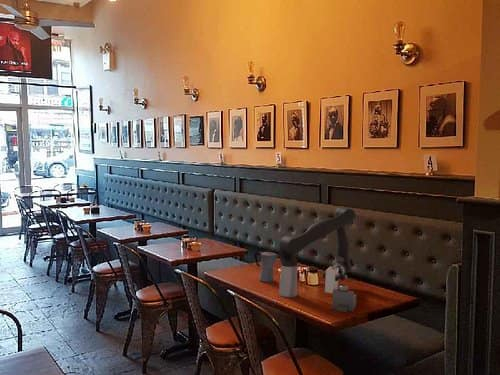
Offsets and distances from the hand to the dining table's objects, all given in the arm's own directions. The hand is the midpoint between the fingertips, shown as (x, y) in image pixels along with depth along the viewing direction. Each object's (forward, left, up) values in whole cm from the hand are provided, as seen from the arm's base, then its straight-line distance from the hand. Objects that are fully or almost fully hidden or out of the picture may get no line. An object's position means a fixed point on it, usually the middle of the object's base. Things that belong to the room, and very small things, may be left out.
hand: (331, 278), depth 254 cm
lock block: (0, +3, -7) cm, 8 cm away
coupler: (+9, -8, -13) cm, 17 cm away
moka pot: (-46, +26, -13) cm, 54 cm away
